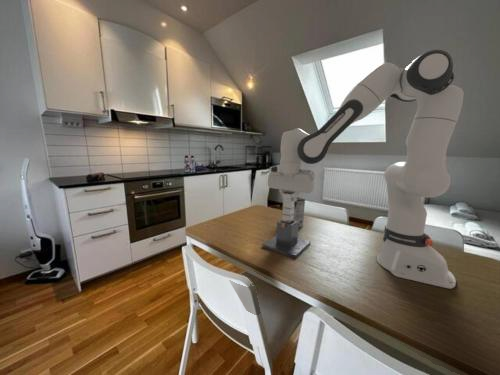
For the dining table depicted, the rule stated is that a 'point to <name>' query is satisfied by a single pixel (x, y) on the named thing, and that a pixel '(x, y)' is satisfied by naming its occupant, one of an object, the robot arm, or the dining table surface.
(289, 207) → the column
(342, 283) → the dining table surface
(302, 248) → the stand base
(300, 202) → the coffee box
